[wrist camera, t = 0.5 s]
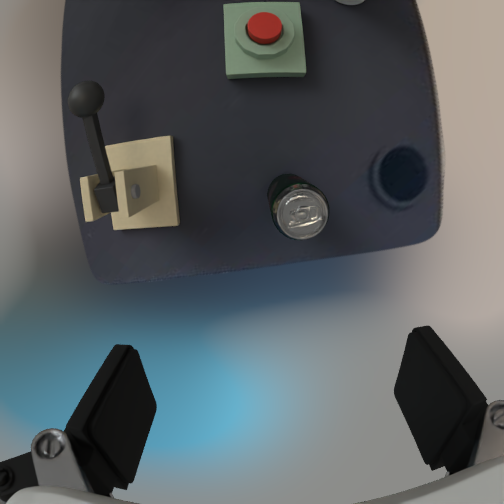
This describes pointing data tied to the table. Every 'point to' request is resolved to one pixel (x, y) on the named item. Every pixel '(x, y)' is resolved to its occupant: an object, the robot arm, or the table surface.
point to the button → (264, 27)
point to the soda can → (297, 207)
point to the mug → (350, 2)
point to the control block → (264, 55)
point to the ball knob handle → (95, 140)
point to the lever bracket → (138, 185)
